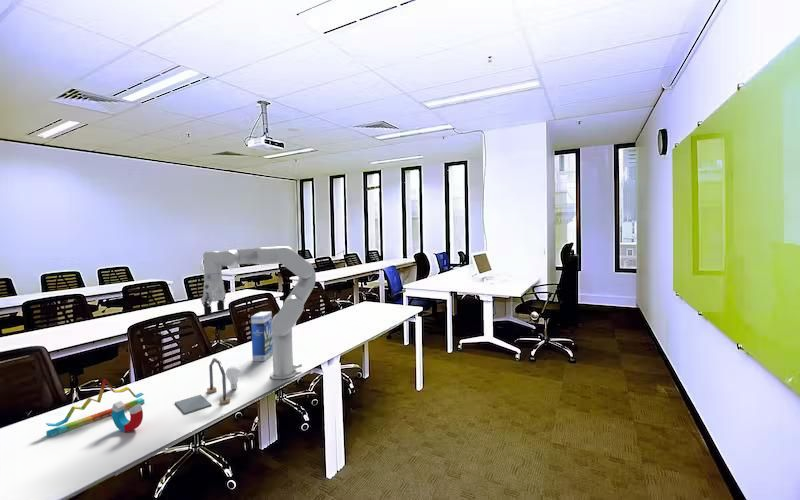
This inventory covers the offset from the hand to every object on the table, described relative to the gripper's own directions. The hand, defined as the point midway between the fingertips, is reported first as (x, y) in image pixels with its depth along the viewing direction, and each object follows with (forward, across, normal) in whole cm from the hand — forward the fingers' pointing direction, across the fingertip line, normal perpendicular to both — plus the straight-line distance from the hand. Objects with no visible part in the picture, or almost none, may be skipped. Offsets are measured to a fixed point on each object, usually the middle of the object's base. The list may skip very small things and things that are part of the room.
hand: (214, 312), depth 176 cm
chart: (+35, -36, +26) cm, 56 cm away
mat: (+34, -23, -4) cm, 41 cm away
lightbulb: (+34, -6, -12) cm, 37 cm away
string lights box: (+34, +37, -4) cm, 51 cm away
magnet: (+34, -44, +6) cm, 56 cm away
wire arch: (+34, -15, -10) cm, 39 cm away
